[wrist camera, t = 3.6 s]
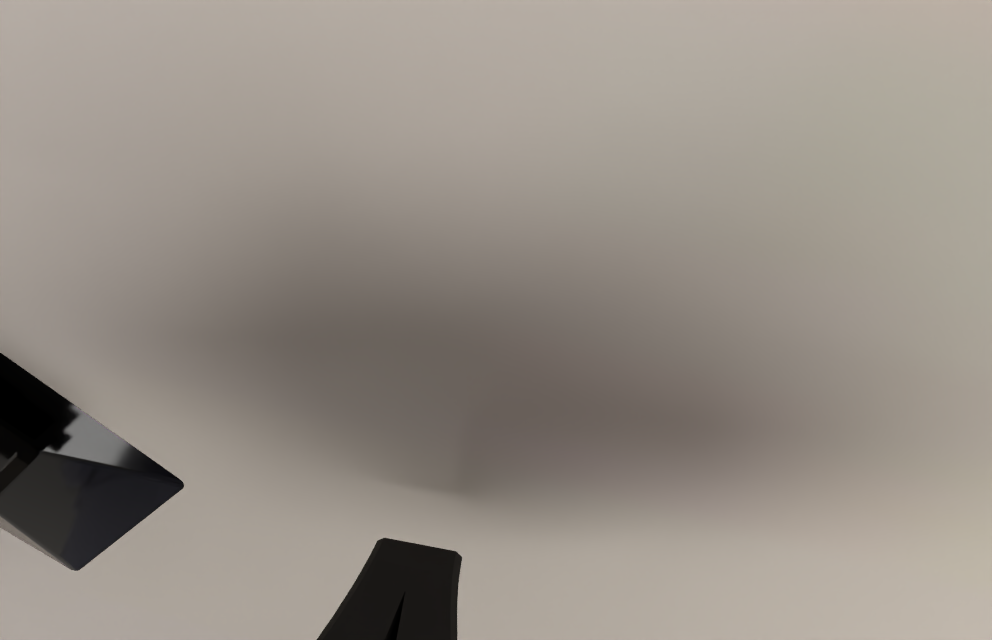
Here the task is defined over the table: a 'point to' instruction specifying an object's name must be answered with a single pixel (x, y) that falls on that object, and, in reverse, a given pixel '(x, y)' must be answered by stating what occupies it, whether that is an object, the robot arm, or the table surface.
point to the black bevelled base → (69, 474)
